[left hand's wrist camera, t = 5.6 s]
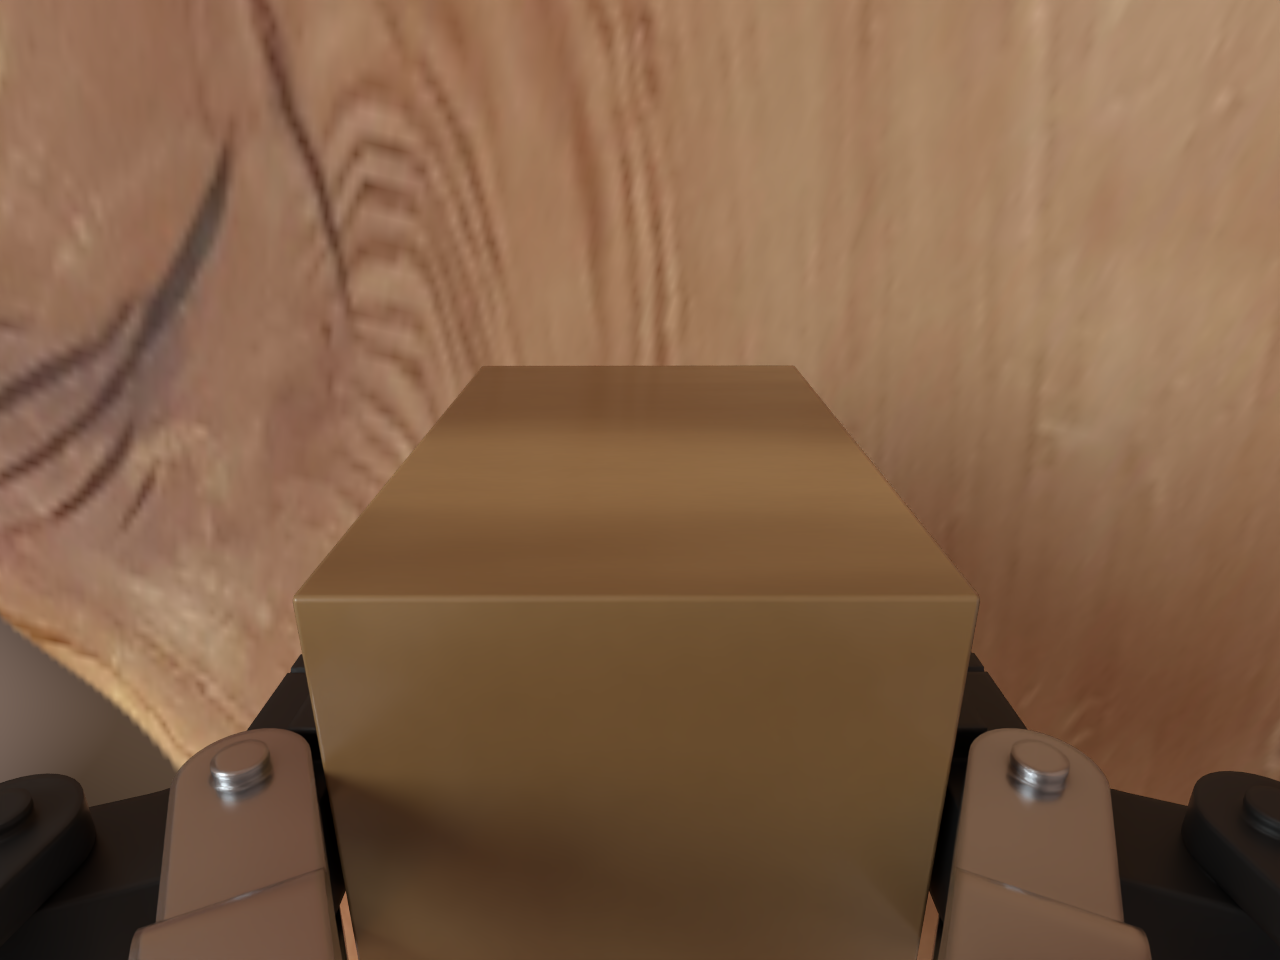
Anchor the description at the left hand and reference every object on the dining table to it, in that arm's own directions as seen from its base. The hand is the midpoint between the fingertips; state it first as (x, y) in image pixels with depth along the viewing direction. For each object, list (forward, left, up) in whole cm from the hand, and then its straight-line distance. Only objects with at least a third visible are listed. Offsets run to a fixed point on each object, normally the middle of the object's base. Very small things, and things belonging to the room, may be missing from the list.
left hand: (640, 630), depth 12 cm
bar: (+6, +6, -4) cm, 9 cm away
